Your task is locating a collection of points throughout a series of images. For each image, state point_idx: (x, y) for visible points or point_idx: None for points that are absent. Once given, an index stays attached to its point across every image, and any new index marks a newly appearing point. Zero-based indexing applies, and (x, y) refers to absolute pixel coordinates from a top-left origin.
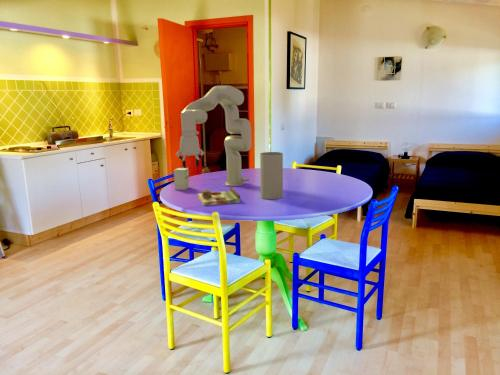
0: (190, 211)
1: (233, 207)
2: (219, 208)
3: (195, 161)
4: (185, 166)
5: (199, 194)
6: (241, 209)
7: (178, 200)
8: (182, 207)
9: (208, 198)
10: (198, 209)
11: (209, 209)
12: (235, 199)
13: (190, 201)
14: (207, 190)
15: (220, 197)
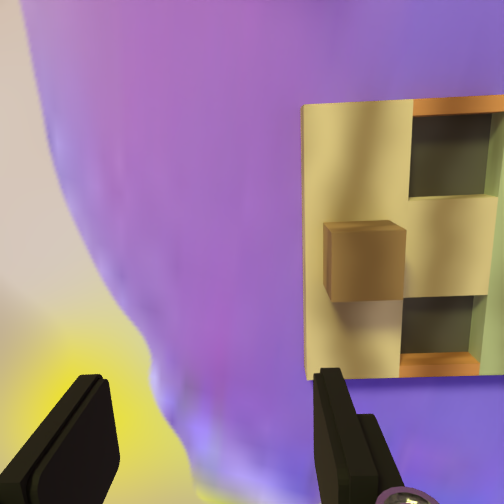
0: (210, 451)
1: (471, 448)
2: None
3: (329, 440)
4: (104, 487)
5: (313, 142)
6: (500, 495)
7: (141, 171)
8: (166, 360)
9: None
10: (260, 428)
11: None
12: None
13: (228, 229)
14: (381, 247)
15: (453, 293)
